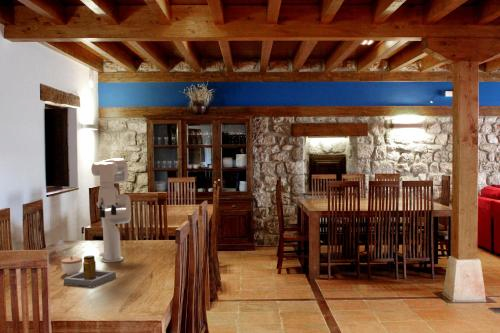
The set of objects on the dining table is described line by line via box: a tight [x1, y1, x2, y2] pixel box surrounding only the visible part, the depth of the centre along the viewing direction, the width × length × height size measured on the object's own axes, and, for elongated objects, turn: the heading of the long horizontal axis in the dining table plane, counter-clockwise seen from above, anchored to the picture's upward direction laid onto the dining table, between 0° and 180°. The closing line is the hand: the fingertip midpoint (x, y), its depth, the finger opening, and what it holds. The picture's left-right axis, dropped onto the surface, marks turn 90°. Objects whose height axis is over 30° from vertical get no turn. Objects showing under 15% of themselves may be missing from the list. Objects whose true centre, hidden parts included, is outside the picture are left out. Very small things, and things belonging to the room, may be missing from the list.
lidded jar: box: [60, 256, 83, 276], centre depth 259 cm, size 11×11×9 cm
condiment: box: [82, 255, 98, 280], centre depth 244 cm, size 7×8×12 cm
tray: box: [63, 269, 117, 288], centre depth 243 cm, size 18×18×3 cm
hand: (108, 216), depth 263 cm, fingers open, 9 cm apart
